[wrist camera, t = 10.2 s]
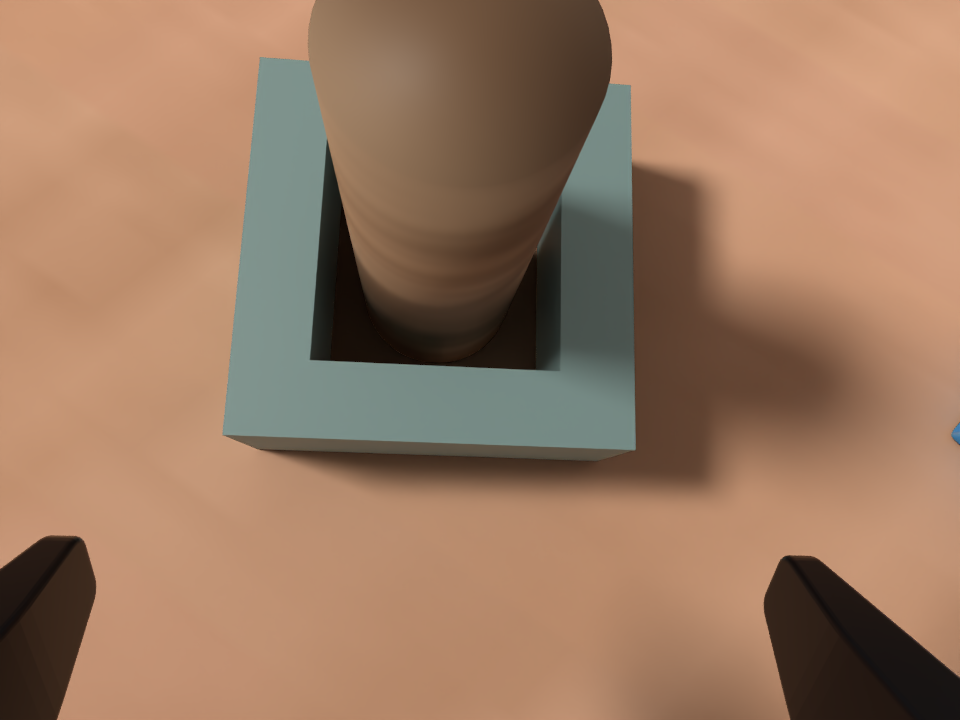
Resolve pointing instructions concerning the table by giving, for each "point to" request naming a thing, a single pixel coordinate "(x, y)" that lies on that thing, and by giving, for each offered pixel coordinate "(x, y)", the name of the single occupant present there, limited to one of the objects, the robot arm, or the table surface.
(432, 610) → the table surface
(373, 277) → the peg
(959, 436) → the ink box
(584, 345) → the socket block
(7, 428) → the table surface
